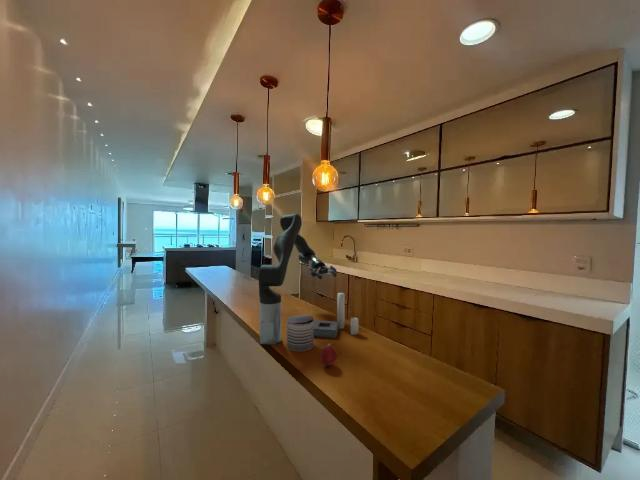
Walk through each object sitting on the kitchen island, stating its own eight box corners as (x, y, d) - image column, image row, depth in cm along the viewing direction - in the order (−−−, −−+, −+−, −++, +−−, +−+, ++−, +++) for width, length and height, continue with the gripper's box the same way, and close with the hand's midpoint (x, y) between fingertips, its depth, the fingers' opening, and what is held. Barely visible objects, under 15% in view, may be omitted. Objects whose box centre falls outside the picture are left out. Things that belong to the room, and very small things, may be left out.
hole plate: (335, 337, 125) (335, 330, 125) (309, 336, 127) (309, 328, 127) (338, 328, 137) (338, 321, 136) (314, 326, 139) (314, 320, 138)
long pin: (344, 328, 136) (344, 294, 136) (336, 328, 137) (337, 294, 136) (344, 326, 140) (344, 293, 139) (337, 325, 140) (337, 292, 140)
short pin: (358, 335, 128) (358, 320, 128) (350, 334, 129) (350, 319, 129) (358, 332, 132) (358, 317, 132) (350, 331, 132) (350, 317, 132)
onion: (322, 370, 96) (323, 348, 95) (318, 363, 101) (318, 341, 101) (338, 368, 97) (339, 346, 97) (333, 361, 103) (333, 339, 102)
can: (301, 354, 108) (301, 324, 108) (280, 346, 115) (280, 318, 115) (319, 344, 117) (319, 316, 117) (298, 338, 124) (299, 311, 124)
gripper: (305, 260, 159) (316, 271, 144) (328, 258, 164) (340, 268, 150) (305, 272, 161) (316, 284, 147) (327, 269, 166) (339, 280, 152)
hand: (328, 276), depth 148 cm, fingers open, 8 cm apart
